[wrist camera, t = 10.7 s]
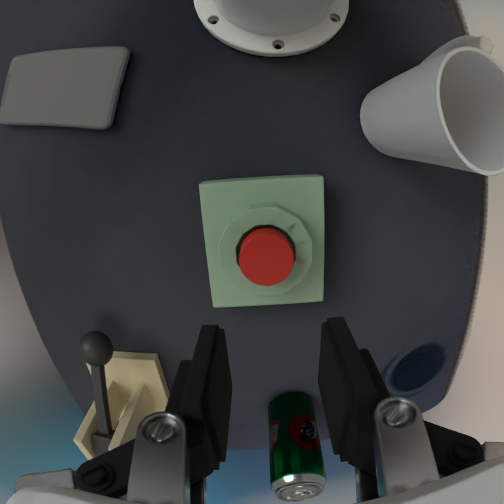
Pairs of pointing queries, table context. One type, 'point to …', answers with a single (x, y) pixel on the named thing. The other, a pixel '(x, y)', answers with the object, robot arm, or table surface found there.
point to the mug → (443, 110)
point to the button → (266, 257)
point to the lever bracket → (126, 398)
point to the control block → (264, 216)
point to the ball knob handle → (99, 384)
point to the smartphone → (64, 88)
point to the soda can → (294, 448)
